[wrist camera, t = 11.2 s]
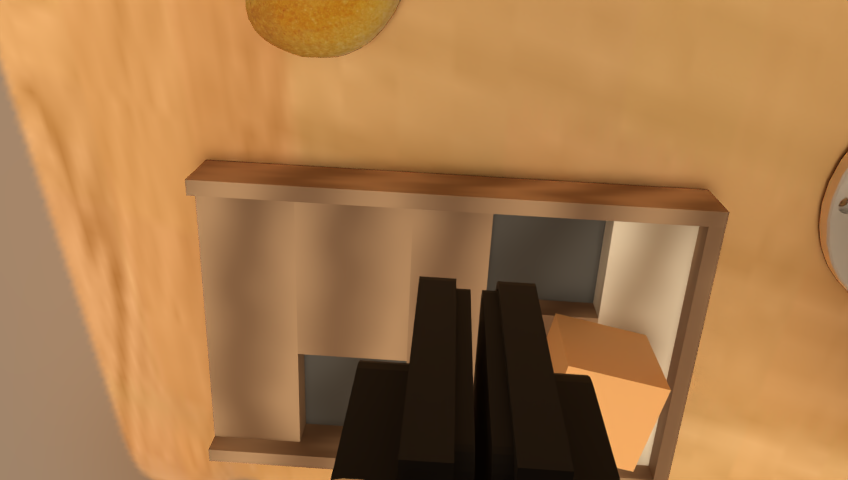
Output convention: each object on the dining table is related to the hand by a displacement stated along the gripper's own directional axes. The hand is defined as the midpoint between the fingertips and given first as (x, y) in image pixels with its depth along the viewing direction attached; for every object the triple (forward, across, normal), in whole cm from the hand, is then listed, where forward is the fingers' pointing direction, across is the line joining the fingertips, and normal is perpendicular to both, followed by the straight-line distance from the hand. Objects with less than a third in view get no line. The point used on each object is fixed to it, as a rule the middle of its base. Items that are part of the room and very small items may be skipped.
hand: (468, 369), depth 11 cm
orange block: (+25, -8, +16) cm, 31 cm away
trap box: (+27, 0, +14) cm, 31 cm away
